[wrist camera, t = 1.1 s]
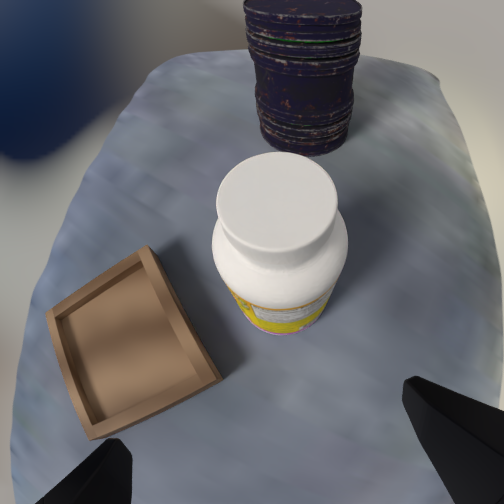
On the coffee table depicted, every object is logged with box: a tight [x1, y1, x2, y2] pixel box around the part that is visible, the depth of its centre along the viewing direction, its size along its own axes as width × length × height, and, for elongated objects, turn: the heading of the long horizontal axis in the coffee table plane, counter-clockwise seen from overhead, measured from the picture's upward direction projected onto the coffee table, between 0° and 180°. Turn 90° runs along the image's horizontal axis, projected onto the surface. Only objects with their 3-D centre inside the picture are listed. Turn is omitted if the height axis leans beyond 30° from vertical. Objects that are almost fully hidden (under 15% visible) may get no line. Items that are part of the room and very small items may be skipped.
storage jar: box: [243, 0, 362, 157], centre depth 24 cm, size 10×10×15 cm
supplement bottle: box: [212, 152, 348, 335], centre depth 17 cm, size 7×7×13 cm
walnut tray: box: [45, 245, 223, 441], centre depth 21 cm, size 12×12×2 cm
